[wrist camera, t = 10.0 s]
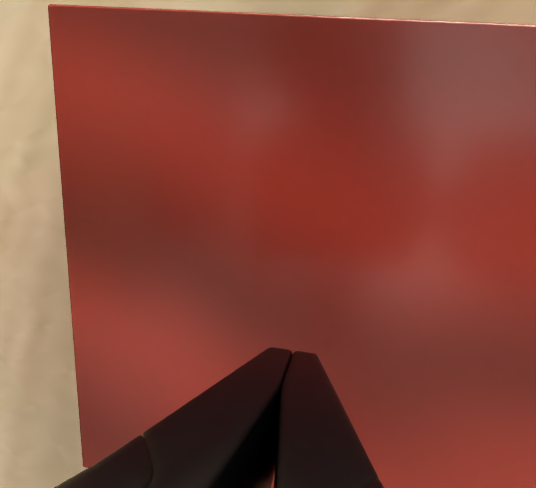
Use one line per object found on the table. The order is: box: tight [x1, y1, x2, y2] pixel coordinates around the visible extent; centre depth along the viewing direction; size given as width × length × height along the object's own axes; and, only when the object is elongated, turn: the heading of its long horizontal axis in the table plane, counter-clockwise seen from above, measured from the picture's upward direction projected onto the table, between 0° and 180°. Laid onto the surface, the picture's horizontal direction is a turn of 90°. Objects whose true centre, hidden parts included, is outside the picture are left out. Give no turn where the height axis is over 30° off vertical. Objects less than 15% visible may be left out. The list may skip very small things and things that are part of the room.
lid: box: [48, 4, 536, 488], centre depth 13 cm, size 13×14×1 cm
